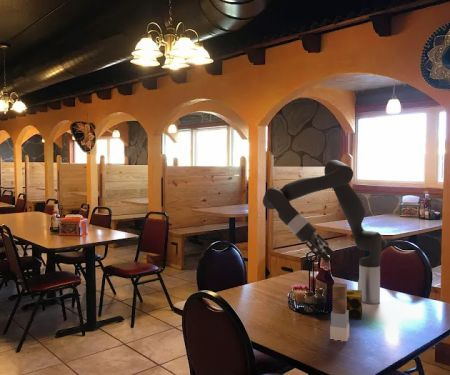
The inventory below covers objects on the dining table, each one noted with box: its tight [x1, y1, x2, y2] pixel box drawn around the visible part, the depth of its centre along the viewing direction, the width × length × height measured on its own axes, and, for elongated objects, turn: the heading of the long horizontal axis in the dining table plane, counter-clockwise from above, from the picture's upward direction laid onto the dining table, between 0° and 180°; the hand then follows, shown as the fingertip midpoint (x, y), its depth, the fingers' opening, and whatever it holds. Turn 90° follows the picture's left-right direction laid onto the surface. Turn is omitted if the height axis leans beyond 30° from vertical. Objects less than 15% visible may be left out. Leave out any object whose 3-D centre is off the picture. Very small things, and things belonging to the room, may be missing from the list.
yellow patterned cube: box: [347, 288, 363, 321], centre depth 186 cm, size 10×10×10 cm
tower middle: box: [330, 309, 350, 328], centre depth 161 cm, size 6×6×5 cm
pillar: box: [332, 282, 348, 314], centre depth 161 cm, size 4×4×10 cm
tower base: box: [329, 322, 350, 342], centre depth 162 cm, size 6×6×5 cm
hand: (331, 258), depth 167 cm, fingers open, 8 cm apart
